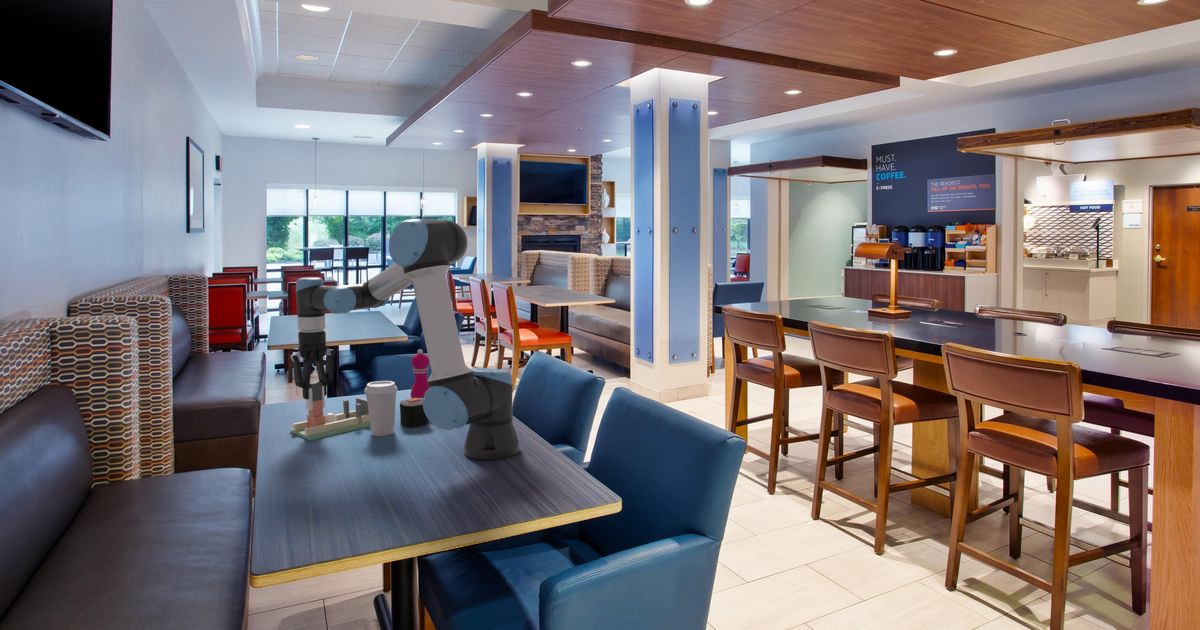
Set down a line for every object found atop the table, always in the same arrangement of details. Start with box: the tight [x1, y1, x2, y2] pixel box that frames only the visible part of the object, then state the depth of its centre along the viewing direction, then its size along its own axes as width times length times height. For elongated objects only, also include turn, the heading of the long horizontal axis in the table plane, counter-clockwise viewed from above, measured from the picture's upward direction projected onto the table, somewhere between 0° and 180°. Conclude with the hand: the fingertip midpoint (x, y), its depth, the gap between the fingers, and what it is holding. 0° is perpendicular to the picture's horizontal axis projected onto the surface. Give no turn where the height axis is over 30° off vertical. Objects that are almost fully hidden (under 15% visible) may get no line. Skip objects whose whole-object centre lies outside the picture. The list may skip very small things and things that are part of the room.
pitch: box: [289, 397, 370, 441], centre depth 218 cm, size 12×22×7 cm, turn 139°
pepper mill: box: [410, 348, 430, 399], centre depth 243 cm, size 7×7×20 cm
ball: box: [324, 412, 337, 424], centre depth 217 cm, size 4×4×4 cm
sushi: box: [399, 397, 429, 429], centre depth 223 cm, size 8×8×8 cm
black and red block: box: [306, 380, 325, 427], centre depth 213 cm, size 5×3×14 cm, turn 49°
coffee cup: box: [363, 380, 399, 437], centre depth 213 cm, size 10×10×15 cm
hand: (315, 407), depth 213 cm, fingers closed on black and red block, 3 cm apart
